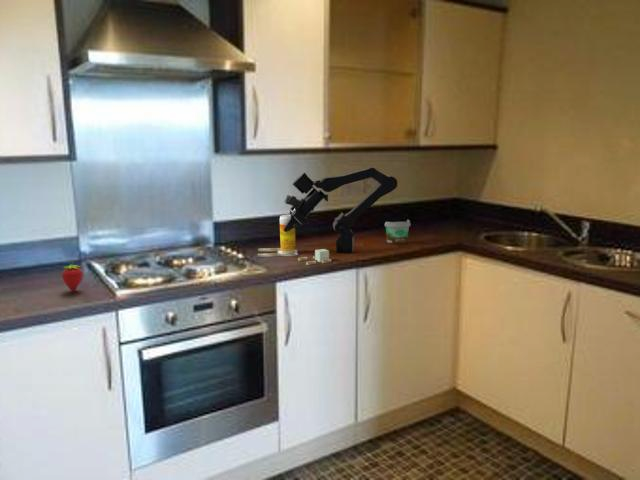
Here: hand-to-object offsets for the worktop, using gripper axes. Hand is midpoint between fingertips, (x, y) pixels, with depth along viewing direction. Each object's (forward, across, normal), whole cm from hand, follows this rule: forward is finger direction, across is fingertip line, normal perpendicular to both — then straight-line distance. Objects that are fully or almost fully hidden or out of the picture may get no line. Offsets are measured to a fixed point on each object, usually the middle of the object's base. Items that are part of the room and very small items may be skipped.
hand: (284, 229), depth 224 cm
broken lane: (-1, +16, +15) cm, 22 cm away
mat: (+6, 0, +8) cm, 10 cm away
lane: (+9, 0, +4) cm, 10 cm away
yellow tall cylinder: (+6, 0, +8) cm, 10 cm away
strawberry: (+54, +48, -41) cm, 83 cm away
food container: (-28, -13, +44) cm, 54 cm away
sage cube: (-3, +14, +17) cm, 23 cm away
